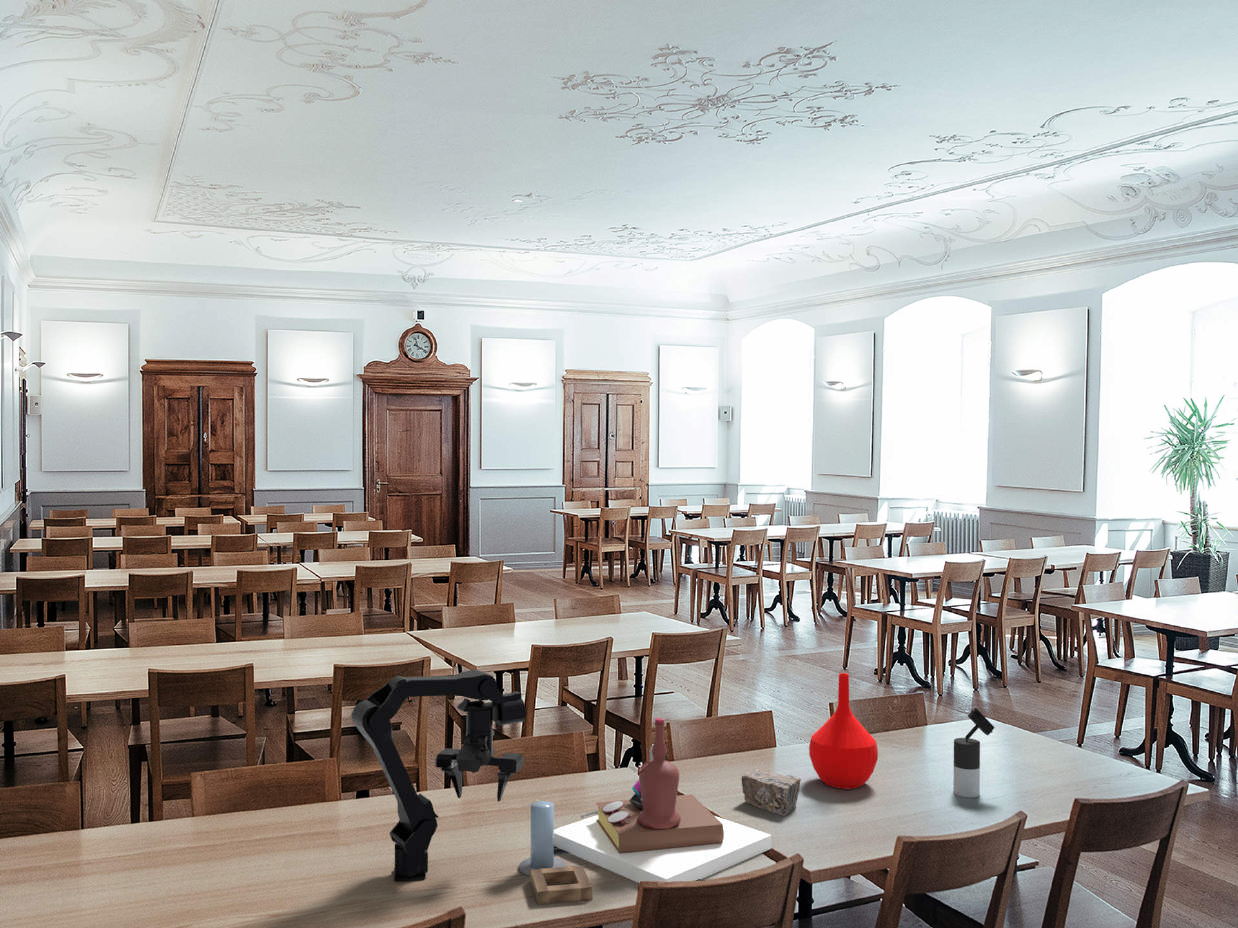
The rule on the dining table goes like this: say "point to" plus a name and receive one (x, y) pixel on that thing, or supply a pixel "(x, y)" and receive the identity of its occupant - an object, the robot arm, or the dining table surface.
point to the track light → (969, 758)
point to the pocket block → (560, 892)
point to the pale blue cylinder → (542, 835)
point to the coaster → (526, 868)
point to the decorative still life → (660, 830)
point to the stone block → (771, 791)
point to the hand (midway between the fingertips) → (479, 799)
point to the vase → (843, 746)
